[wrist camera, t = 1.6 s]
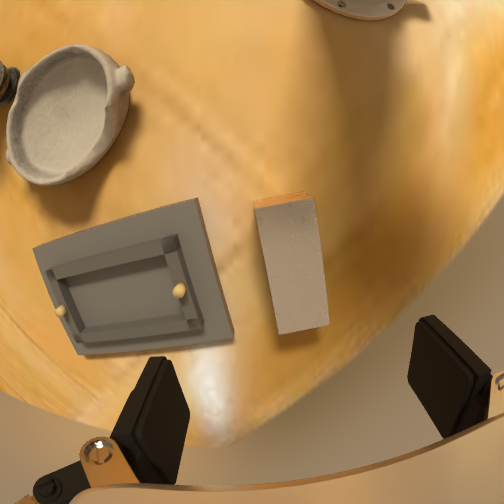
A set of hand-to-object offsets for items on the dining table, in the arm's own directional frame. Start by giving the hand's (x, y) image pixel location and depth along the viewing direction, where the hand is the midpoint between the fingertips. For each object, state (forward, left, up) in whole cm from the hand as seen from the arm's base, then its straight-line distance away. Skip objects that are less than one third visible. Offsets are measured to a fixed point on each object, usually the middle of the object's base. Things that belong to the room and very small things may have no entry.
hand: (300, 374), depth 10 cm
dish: (+17, -17, -19) cm, 31 cm away
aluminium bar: (-1, +2, -19) cm, 19 cm away
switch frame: (+16, +2, -18) cm, 24 cm away
